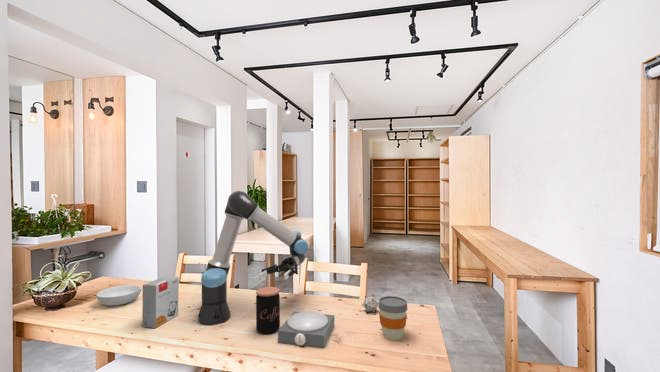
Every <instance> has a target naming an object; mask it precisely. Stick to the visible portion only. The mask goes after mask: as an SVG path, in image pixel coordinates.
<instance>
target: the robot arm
mask: <svg viewBox="0 0 660 372" xmlns="http://www.w3.org/2000/svg"><path fill="white" fill-rule="evenodd" d="M224 209H225V210H224V214H225V218H224V222H223V225H222V228H221V231H220V234H219V237H218V240H217V244H216V247H215V251H214V253H213V257H212V259H210V260H209V261H207V265H206V269H205V270H204V271H203V272H202V274H201V279H200V281H201V306H200V309H199V312H198V315H197V322H198V323H199V324H200V325H204V326H211V325H212V326H213V325H218V324H219V325H220V324H222V323H224V322H227V321H229V320H230V318H231V309H230V308H229V304H228V301H227V300H228V299H227V295H228V293H227V291H228V290H227V288H228V287H227V286H228V285H227V284H228V283H227V282H228V280H227V279H228V275H229V272H230V268H231V264H230V262H229V261H230V258H231V256H232V253H233V249H234V247H235V244H236V240H237V236H238V233H239V230H240V228H241V227H240V226H241V224H242V221H243V220H247V221H249V220H251V221H252V222H253V223H255V224H256V225H257V226H259V227H260V228H262V229H263V230H264V231H266V232H268V233H269V234H271V236H273V237H275V238H276V239H277V240H279V241H281V242H282V243H283V244H285V246H287V247H289V256H287V257H286V258H285V259H283V260H282V261H281V263H280V264H273V265H270V266H268V267H265V268H262V269H261V273H259V274H258V276H259V277H258V278H259V281H262V280H263V279H264V278H266V277H268V275H271V274H274V273H280V272H282V273H283V272H285V273H284V274H283V276H284V281H286V280H288V279H289V278H290V277H291V276H294V275H298V274H299V273H298V272H299V271H298V270H299V266H300V265H301V264H302V263H304V261H306V258H307V255H306V253H307V252H308V250H309V243H307V241H306V240H305V239H303V238H302V234H301V233H302V232H301V231H299V230H294V231H292V230H291V229H290V228H288V227H287V226H285V225H284V224H282V223H281V222H280V221H278V220H277V219H275V218H274V217H273V216H272V215H270V214H269V213H268V212H266V211H264V210H263V209H262V208H261V207H260V206H259V204H258V203H256V201H254V200H253V199H252V198H251V197H250V195H248V193H247V192H245V191H241V190H237V191H234V192H232V193H230V194H229V196H228V199H227V203H226V207H225V208H224Z"/></svg>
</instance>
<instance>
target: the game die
mask: <svg viewBox="0 0 660 372" xmlns="http://www.w3.org/2000/svg"><path fill="white" fill-rule="evenodd" d="M364 297H365V298H364V301H363V303H362V304H361V306H363V307H364V309H365V310H366V313H367V314H368V313H369V312H377V308H378V305H379V301H377V299H376V298H375V294H373V295H372V296H364Z"/></svg>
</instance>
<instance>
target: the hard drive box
mask: <svg viewBox="0 0 660 372" xmlns="http://www.w3.org/2000/svg"><path fill="white" fill-rule="evenodd" d="M179 281H180V280H179V276H176V275H175V276H173V275H166V276H163V277H160V278H158V279H155V280H152V281H149V282H146V283H144V284H142V310H141V311H142V312H141V313H142V314H141V318H142V321H141V322H142V323H141V325H142V327H144V328H151V329H156V328H158V327H160V326H162V325H164V324H165V323H167V322H169V321H171V320H173V319H174V318H176V317H177V316H179V291H180V290H179V287H180V286H179Z"/></svg>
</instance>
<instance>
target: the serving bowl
mask: <svg viewBox="0 0 660 372" xmlns="http://www.w3.org/2000/svg"><path fill="white" fill-rule="evenodd" d="M141 291H142V286H140V285H136V284H128V285H127V284H126V285H118V286H113V287H108V288H105V289H102V290H100V291H99V292H97V293H96V299H97V301H98V302H99V303H100V304H102V305H105V306H113V305H115V306H121V305H120V304H122V305H125V304H127V303H130V302H132V301H134V300H136V299H137V298H138V297H139V296H140V294H141Z"/></svg>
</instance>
